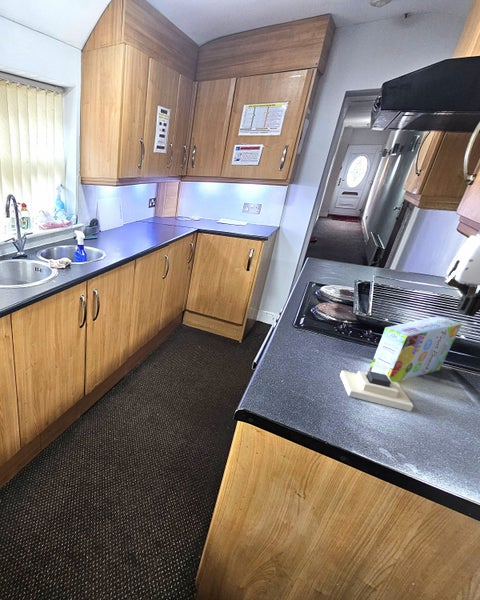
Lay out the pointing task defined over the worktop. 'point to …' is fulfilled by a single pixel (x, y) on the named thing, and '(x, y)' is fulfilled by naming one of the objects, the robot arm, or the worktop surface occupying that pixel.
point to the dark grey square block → (378, 379)
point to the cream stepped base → (375, 391)
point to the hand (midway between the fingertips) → (465, 313)
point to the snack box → (414, 348)
